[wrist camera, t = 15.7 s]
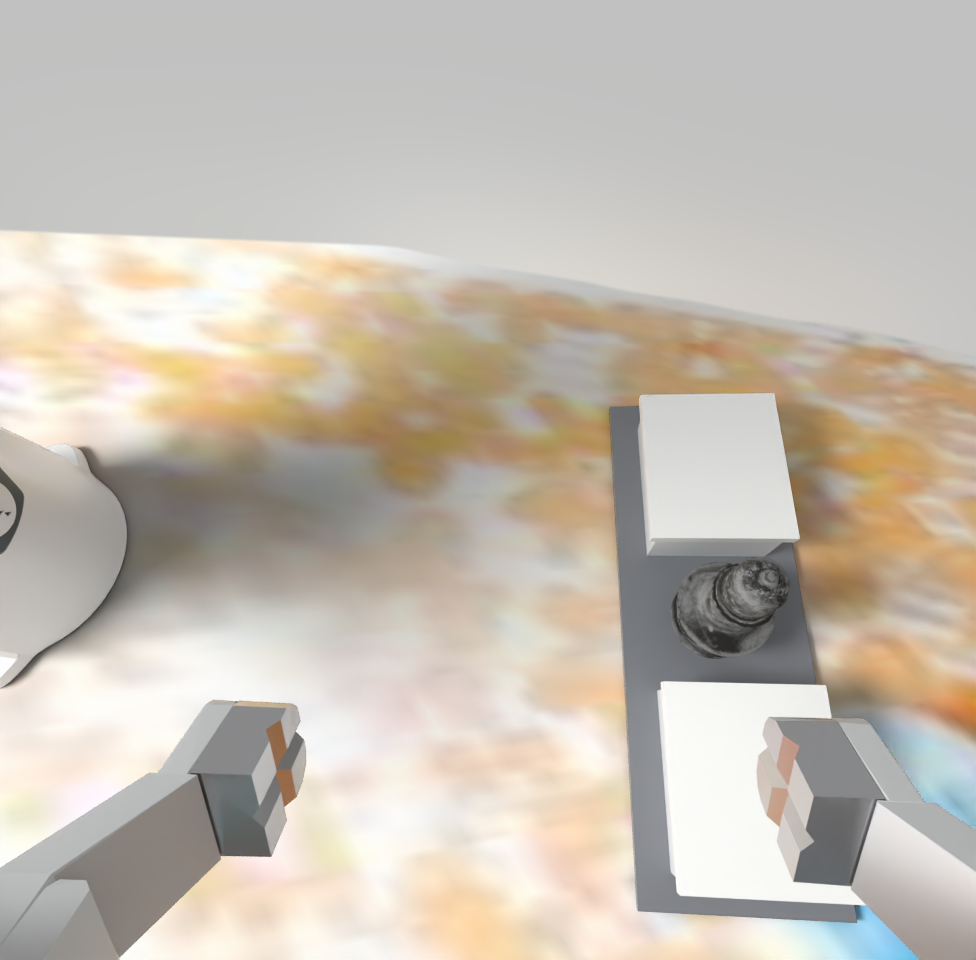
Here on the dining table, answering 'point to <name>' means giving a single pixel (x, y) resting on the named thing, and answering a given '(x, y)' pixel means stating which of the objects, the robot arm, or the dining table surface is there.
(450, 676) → the dining table surface
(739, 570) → the dark grey upright figurine
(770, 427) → the grey mounting plate
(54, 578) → the robot arm
